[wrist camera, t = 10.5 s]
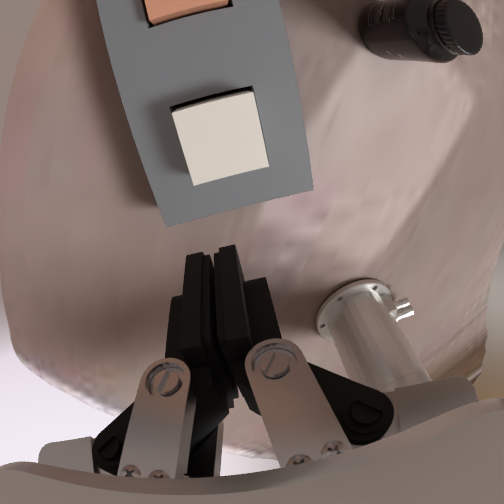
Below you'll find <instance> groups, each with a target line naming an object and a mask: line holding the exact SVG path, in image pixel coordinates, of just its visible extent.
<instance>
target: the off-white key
mask: <svg viewBox="0 0 504 504" xmlns="http://www.w3.org/2000/svg"><path fill="white" fill-rule="evenodd" d="M172 116H173V119H174V123H175V126H176V129H177V133H178V136H179V140H180V143H181V146H182V149H183V153H184V156H185V159H186V162H187V166H188V169H189V172H190V175H191V179H192V182H193V185H194V186H195V185H198V184H202V183H206V182H209V181H213V180H217V179H220V178H224V177H228V176H232V175H236V174H240V173H244V172H248V171H252V170H256V169H261V168H265V167H269V164H268V159H267V154H266V149H265V144H264V139H263V134H262V130H261V125H260V120H259V116H258V111H257V106H256V102H255V97H254V93H253V92H251V91H247V90H243V91H238V92H233V93H229V94H225V95H221V96H217V97H213V98H209V99H205V100H201V101H198V102H194V103H191V104H187V105H184V106H180V107H178V108H177V109H176V110H175V111H173V112H172Z"/></svg>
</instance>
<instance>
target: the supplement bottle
mask: <svg viewBox="0 0 504 504" xmlns="http://www.w3.org/2000/svg"><path fill="white" fill-rule="evenodd" d="M358 27H359V32H360V35H361V37H362V39H363V41H364V43H365V44H366V45H367V47H368V48H369V49H370V50H371V51H372V52H373V53H375V54H376V55H378V56H380V57H382V58H385V59H390V60H407V61H422V62H434V63H447V62H450V61H452V60H454V59H455V58H456V57H457V56H458V55H475V54H476V53H478V51H480V48H482V44H483V33H482V28H481V25H480V23H479V20H478V18H477V17H476V14H475V13H474V12H473V10H472V9H471V8H470V7H469V6H468V5H467V4H466V3H464V2H462V1H461V0H382V1H379V2H376V3H373V4H370V5H368V6H366V7H365V8H364V9H363V10H362V12H361V14H360V16H359V21H358Z"/></svg>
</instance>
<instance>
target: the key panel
mask: <svg viewBox="0 0 504 504" xmlns="http://www.w3.org/2000/svg"><path fill="white" fill-rule="evenodd" d="M96 2H97V7H98V11H99V16H100V20H101V25H102V29H103V33H104V38H105V42H106V46H107V50H108V54H109V57H110V61H111V65H112V69H113V72H114V76H115V79H116V83H117V86H118V90H119V93H120V97H121V100H122V103H123V107H124V110H125V113H126V116H127V119H128V122H129V126H130V129H131V132H132V135H133V138H134V141H135V144H136V147H137V150H138V153H139V155H140V158H141V161H142V164H143V167H144V170H145V172H146V175H147V178H148V181H149V183H150V186H151V189H152V191H153V194H154V197H155V199H156V202H157V205H158V207H159V210H160V212H161V215H162V217H163V220H164V222H165V225H166V227H170V226H173V225H177V224H180V223H184V222H187V221H191V220H195V219H198V218H202V217H206V216H209V215H213V214H217V213H221V212H224V211H228V210H232V209H236V208H240V207H244V206H248V205H252V204H256V203H260V202H264V201H268V200H272V199H276V198H281V197H285V196H289V195H293V194H298V193H302V192H306V191H311V190H314V188H313V180H312V173H311V165H310V158H309V151H308V144H307V138H306V131H305V125H304V119H303V113H302V107H301V101H300V96H299V91H298V85H297V80H296V75H295V70H294V65H293V60H292V55H291V51H290V46H289V42H288V37H287V33H286V29H285V24H284V20H283V16H282V12H281V8H280V4H279V1H278V0H228V4H227V6H228V8H223V9H218V10H213V11H209V12H204V13H200V14H196V15H192V16H188V17H184V18H181V19H177V20H174V21H170V22H167V23H164V24H161V25H158V26H155V27H154V24H153V23H151V22H150V21H149V17H148V13H147V9H146V5H145V0H96ZM242 87H247V88H248V91H251V92H253V93H254V97H255V102H256V106H257V111H258V116H259V120H260V125H261V130H262V134H263V139H264V144H265V149H266V154H267V159H268V164H269V167H265V168H261V169H256V170H252V171H248V172H244V173H240V174H236V175H232V176H228V177H224V178H220V179H217V180H213V181H209V182H206V183H202V184H198V185H195V186H194V185H193V182H192V179H191V175H190V172H189V169H188V166H187V162H186V159H185V156H184V153H183V149H182V146H181V143H180V140H179V136H178V133H177V129H176V126H175V123H174V119H173V116H172V112H173V111H175V110H176V105H177V104H180V103H183V102H187V101H190V100H194V99H197V98H201V97H205V96H208V95H212V94H216V93H220V92H225V91H229V90H233V89H238V88H242Z"/></svg>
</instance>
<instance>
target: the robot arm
mask: <svg viewBox="0 0 504 504" xmlns="http://www.w3.org/2000/svg"><path fill="white" fill-rule="evenodd" d="M413 314H414V311H413V308H412V306H411V305H409V300H408V298H403V299H401V300H399V301H396V302H395V301H392V296H391V292H390V291H389V289H388V288H387V286H386V285H385V284H384V283H382V282H380V281H378V280H374V279H365V280H359V281H356V282H353V283H350V284H348V285H346V286H344V287H342V288H340V289H339V290H337V291H336V292H335V293H333V294H332V295H331V296H330V297H329V298H328V299H327V300H326V301H325V302H324V303H323V305H322V306H321V307H320V309H319V311H318V314H317V317H316V326H317V329H318V331H319V333H320V335H321V336H322V337H323V338H325V339H327V340H329V341H333V342H334V343H335V346H336V348H337V350H338V353H339V355H340V358H341V360H342V363H343V365H344V367H345V370H346V372H347V375H348V377H349V379H347V378H345V377H342V376H340V375H337V374H335V373H332V372H330V371H328V370H325V369H323V368H320V367H318V366H316V365H313V364H311V363H309V362H307V361H306V359H305V357H304V355H303V353H302V351H301V350H300V349H299V347H298V346H297V345H296V344H294V343H293V342H291V341H289V340H285V339H282V337H281V333H280V330H279V326H278V322H277V318H276V314H275V311H274V307H273V303H272V299H271V295H270V292H269V288H268V284H267V280H266V277H263V278H259V279H254V280H250V281H245V280H244V276H243V273H242V269H241V265H240V261H239V257H238V253H237V249H236V246H235V244H234V245H230V246H225V247H221V248H219V252H218V253H214V266H213V263H212V260H211V257H210V255H205V256H204V253H203V252H199V253H195V254H191V255H187V256H186V263H185V273H184V283H183V294H182V295H180V296H175V297H173V298H172V300H171V306H170V314H169V323H168V332H167V341H166V352H165V358H164V359H161V360H158V361H156V362H154V363H153V364H151V365H150V366H149V367H148V368H147V369H146V370H145V371H144V373H143V375H142V378H141V380H140V384H139V387H138V391H137V395H136V398H135V401H134V402H133V403H132V404H131V405H130V406H129V407H128V408H127V409H126V410H125V411H123V412H122V413H121V414H120V415H119V416H118V417H117V418H116V419H115V420H114V421H112V422H111V424H109V425H108V426H107V427H106V428H105V429H104V430H103V431H101V433H99V434H98V436H97V437H96V438H94V439H93V438H92V437H85V438H79V439H73V440H67V441H60V442H53V443H49V444H46V445H45V446H44V447H43V448H42V449H41V451H40V453H39V458H38V459H39V460H38V463H35V462H14V463H9V464H6V465H3V466H1V467H0V504H504V398H496V399H487V400H483V401H478V398H477V395H476V391H475V389H474V387H473V385H472V383H471V382H470V381H469V380H468V379H466V378H464V377H461V376H452V377H448V378H444V379H440V380H435V381H432V380H431V378H430V376H429V375H428V373H427V371H426V369H425V367H424V366H423V364H422V362H421V360H420V359H419V357H418V355H417V353H416V352H415V350H414V348H413V347H412V345H411V343H410V342H409V340H408V338H407V337H406V335H405V333H404V332H403V330H402V328H401V327H400V325H399V323H398V321H399V320H401V319H405V318H408V317H410V316H413ZM237 385H238V386H237ZM238 387H239V389H240V391H241V394H242V396H243V397H244V398H245V400H246V402H247V405H248V407H249V409H250V410H252V411H253V412H255V413H257V414H258V415H260V416H262V419H263V422H264V424H265V427H266V430H267V433H268V435H269V438H270V441H271V443H272V446H273V449H274V451H275V454H276V457H277V459H278V461H279V464H280V467H281V468H278V469H273V470H267V471H261V472H254V473H247V474H239V475H231V476H220V467H221V454H222V441H223V428H224V424H223V419H224V418H225V417H226V416H227V415H228V414H229V408H234V402H233V399H235V398H238V397H239V395H238Z"/></svg>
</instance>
